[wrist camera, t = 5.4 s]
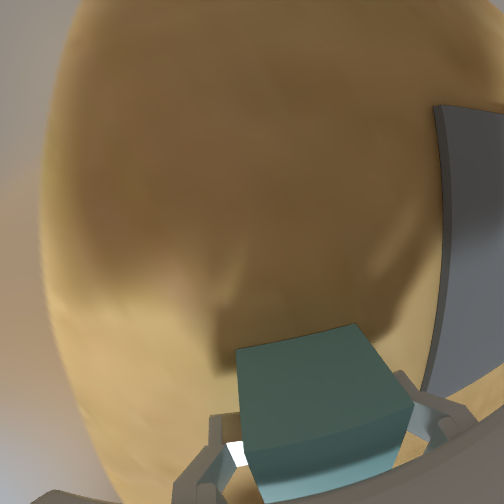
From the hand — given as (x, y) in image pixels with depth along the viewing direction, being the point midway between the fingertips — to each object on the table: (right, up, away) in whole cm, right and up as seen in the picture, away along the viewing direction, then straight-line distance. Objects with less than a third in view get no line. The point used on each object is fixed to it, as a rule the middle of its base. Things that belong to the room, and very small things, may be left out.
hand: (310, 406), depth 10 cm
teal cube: (0, 0, +2) cm, 2 cm away
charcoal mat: (+14, +6, +1) cm, 15 cm away
